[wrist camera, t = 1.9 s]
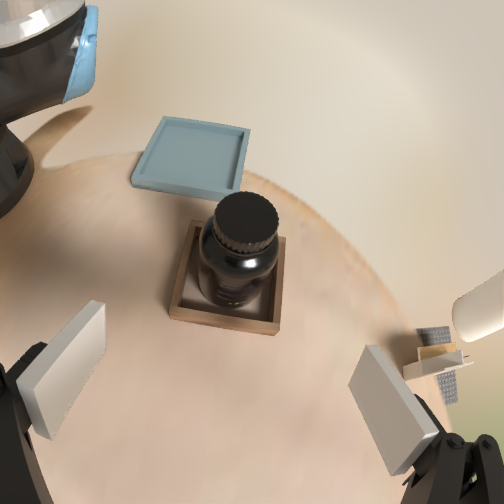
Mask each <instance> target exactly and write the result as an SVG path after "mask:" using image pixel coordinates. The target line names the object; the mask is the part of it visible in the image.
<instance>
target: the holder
mask: <svg viewBox="0 0 504 504" xmlns="http://www.w3.org/2000/svg"><path fill="white" fill-rule="evenodd" d="M205 223H206V222H201V221H195V220H191V222H190V226H189V230H188V233H187V237H186V241H185V245H184V249H183V253H182V257H181V261H180V265H179V269H178V273H177V277H176V282H175V286H174V290H173V295H172V299H171V304H170V308H169V315H170V319H175V320H180V321H185V322H191V323H196V324H201V325H207V326H213V327H218V328H224V329H230V330H237V331H243V332H250V333H256V334H263V335H271V336H274V335H275V334H276V333H278V332H279V330H280V318H281V305H282V291H283V276H284V260H285V243H286V238H285V237H280V236H279V240H280V252H279V256H278V259H277V261H276V263H275V265H274V267H273V276H272V288H271V299H270V311H269V321H268V322H264V321H257V320H251V319H244V318H238V317H232V316H226V315H220V314H215V313H209V312H203V311H198V310H193V309H187V308H182V307H180V304H181V299H182V294H183V290H184V285H185V281H186V276H187V272H188V267H189V263H190V259H191V254H192V250H193V246H194V242H195V238H196V237H199V238H200V233H201V230H202V228H203V226H204V224H205Z"/></svg>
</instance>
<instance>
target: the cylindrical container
mask: <svg viewBox="0 0 504 504" xmlns="http://www.w3.org/2000/svg"><path fill="white" fill-rule="evenodd" d="M452 319H453V324H454V327H455V330H456V332H457V333H458V335H459V336H460V337H461V338H462V339H463V340H464V341H467V342H472V341H474V340H477V339H479V338H481V337H483V336H486V335H488V334H490V333H492V332H494V331H497V330H499V329H501V328H503V327H504V270H502V271H501V272H499V273H498V274H496V275H495V276H494V277H492V278H490V279H489V280H487V281H486V282H484V283H483V284H481V285H480V286H478V287H476V288H475V289H473V290H472V291H470V292H469V293H467V294H465V295H464V296H462V297H460V298H458V299H457V300H456V301H455V303H454V305H453V309H452Z"/></svg>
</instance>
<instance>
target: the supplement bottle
mask: <svg viewBox="0 0 504 504" xmlns="http://www.w3.org/2000/svg"><path fill="white" fill-rule="evenodd" d="M278 221H279V218H278V213H277V212H276V209H275V208H274V207H273V204H271V203H270V202H269V200H267V199H265V198H264V197H263V196H260V195H259V194H255V193H253V192H247V191H245V192H242V191H240V192H234V193H233V194H229V195H228V196H225V197H224V199H222V200H221V201H220V203H219V204H218V205H217V208H216V209H215V213H214V215H213V216H211V217H210V218H209V219H208V220H207V221H206V223H205V224H204V226H203V228H202V230H201V233H200V238H199V258H198V281H199V286H200V289H201V291H202V293H203V294H204V296H205V297H206V298H207V299H208V300H209V301H210V302H212V303H213V304H215V305H217V306H219V307H222V308H228V309H235V308H240V307H243V306H246V305H247V304H249V303H251V302H252V301H253V300H254V299H255V298H256V297H257V295H258V294H259V292H260V290H261V289H262V287H263V285H264V283H265V281H266V280H267V278H268V276H269V274H270V272H271V271H272V269H273V267H274V265H275V263H276V261H277V259H278V256H279V252H280V240H279V236H278V233H277V228H278V226H279V222H278Z"/></svg>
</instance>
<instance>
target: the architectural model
mask: <svg viewBox="0 0 504 504" xmlns="http://www.w3.org/2000/svg"><path fill="white" fill-rule="evenodd" d="M417 350H418V359H419V361H417V362H414V363H411V364H408V365H405V366H402V367H403V378H404V379H405V381H407V380H413V379H418V378H423V377H428V376H433V375H435V376H437V375H440V374H444V373H447V372H451V371H454V370H455V369H457V368H461V367H464V366H467V365H470V364H473V363H474V361H473V362H469V363H465V364H464V359H463V358H464V357H463V351H462V350H458V351H457V349H456V342H454V343H452V342H448V343H441V344H434V345H426V346H424V347H419V348H417ZM419 375H420V376H419Z"/></svg>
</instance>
